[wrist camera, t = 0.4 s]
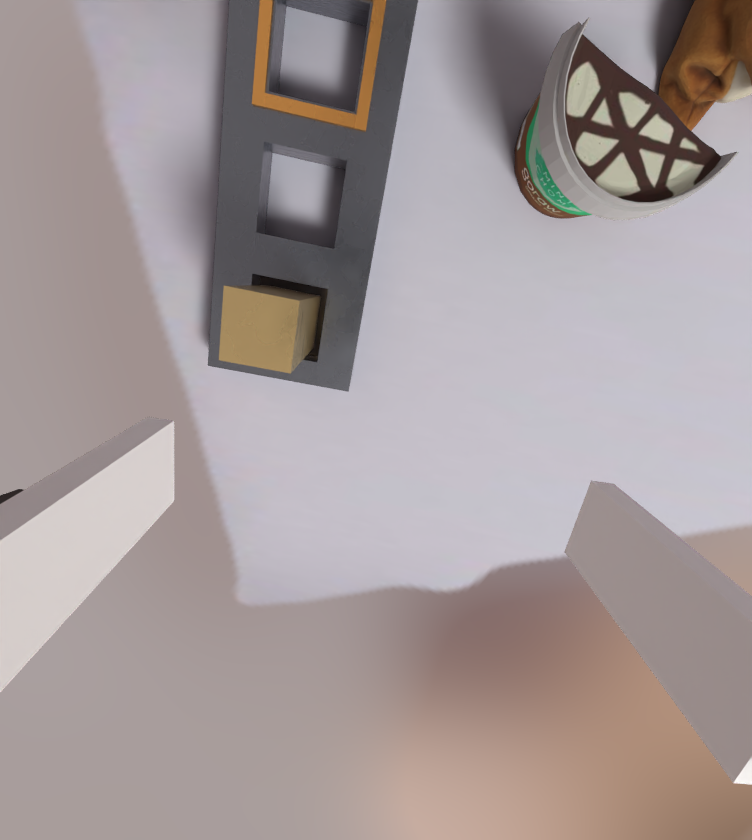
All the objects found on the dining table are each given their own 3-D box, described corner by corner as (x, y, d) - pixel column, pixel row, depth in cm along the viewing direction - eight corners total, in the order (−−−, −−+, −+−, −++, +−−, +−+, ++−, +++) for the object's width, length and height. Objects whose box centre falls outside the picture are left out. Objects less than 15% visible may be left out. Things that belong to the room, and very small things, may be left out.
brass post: (268, 285, 34) (223, 285, 23) (321, 295, 34) (299, 300, 24) (263, 337, 35) (218, 360, 25) (313, 347, 35) (290, 373, 25)
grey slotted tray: (245, -43, 27) (232, -78, 24) (417, 2, 28) (422, -27, 25) (218, 360, 36) (207, 366, 33) (349, 384, 36) (348, 392, 34)
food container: (465, 177, 31) (507, 131, 22) (513, 97, 30) (581, 10, 20) (582, 265, 33) (666, 257, 24) (633, 195, 32) (745, 158, 22)
